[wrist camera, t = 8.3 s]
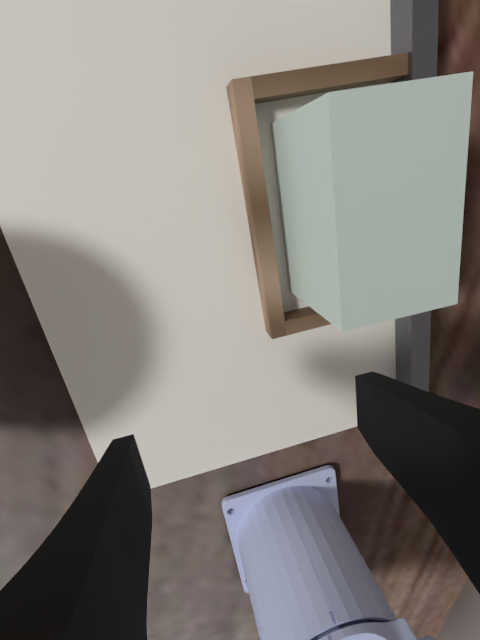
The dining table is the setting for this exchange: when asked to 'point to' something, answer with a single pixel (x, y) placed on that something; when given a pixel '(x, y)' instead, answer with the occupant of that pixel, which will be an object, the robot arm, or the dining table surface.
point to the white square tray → (188, 214)
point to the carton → (375, 198)
